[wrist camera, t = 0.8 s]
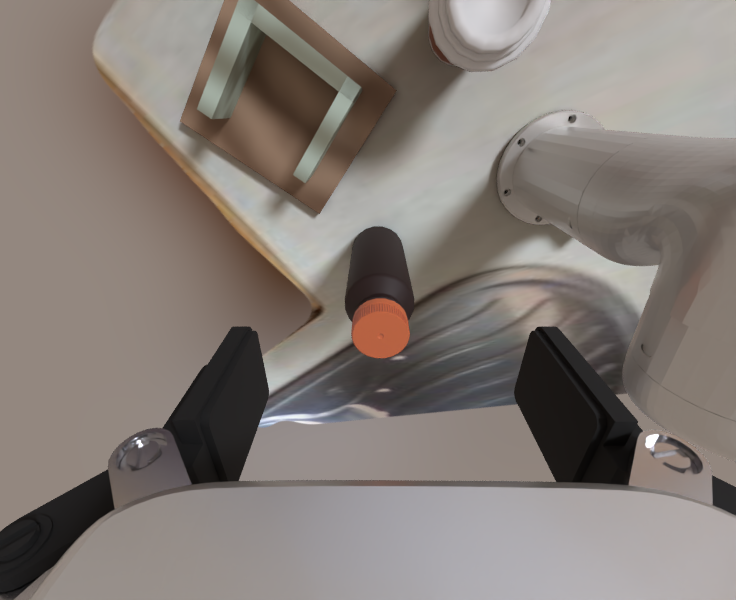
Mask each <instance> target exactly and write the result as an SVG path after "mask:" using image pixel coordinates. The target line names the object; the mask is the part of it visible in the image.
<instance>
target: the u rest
mask: <svg viewBox="0 0 736 600" xmlns="http://www.w3.org/2000/svg"><path fill="white" fill-rule="evenodd" d="M396 91H397V90H395V89H394V88H393V87H392V86H391V85H389V84H388V83H387V82H386V81H385V80H383V79H382V78H381V77H380V76H379V75H377V74H376V73H375V72H374V71H373V70H371V69H370V68H369V67H368V66H367V65H366V64H364V63H363V62H362V61H361V60H360V59H358V58H357V57H356V56H355V55H354V54H352V53H351V52H350V51H349V50H348V49H346V48H345V47H344V46H343V45H342V44H340V43H339V42H338V41H337V40H336V39H335V38H333V37H332V36H331V35H330V34H329V33H327V32H326V31H325V30H324V29H323V28H321V27H320V26H319V25H318V24H317V23H315V22H314V21H313V20H312V19H311V18H309V17H308V16H307V15H306V14H305V13H304V12H302V11H301V10H300V9H299V8H298V7H296V6H295V5H294V4H293V3H292V2H290V1H289V0H224V3H223V5H222V8H221V11H220V14H219V16H218V19H217V22H216V25H215V27H214V30H213V33H212V35H211V38H210V41H209V44H208V46H207V49H206V52H205V54H204V57H203V60H202V63H201V65H200V68H199V71H198V74H197V76H196V79H195V82H194V84H193V87H192V90H191V93H190V95H189V98H188V101H187V103H186V106H185V109H184V112H183V114H182V117H181V120H180V122H182V123H183V124H185V125H186V126H188V127H189V128H191V129H192V130H194V131H195V132H197V133H198V134H200V135H201V136H203V137H204V138H206V139H207V140H209V141H210V142H212V143H213V144H215V145H216V146H218V147H219V148H221V149H223V150H224V151H226V152H227V153H229V154H230V155H232V156H233V157H235V158H236V159H238V160H239V161H241V162H242V163H244V164H245V165H247V166H248V167H250V168H251V169H253V170H254V171H256V172H257V173H259V174H260V175H262V176H263V177H265V178H266V179H268V180H269V181H271V182H272V183H274V184H275V185H277V186H278V187H280V188H281V189H283V190H284V191H286V192H287V193H289V194H290V195H292V196H293V197H295V198H296V199H298V200H299V201H301V202H302V203H304V204H305V205H307V206H308V207H310V208H311V209H313V210H314V211H316V212H317V213H319V214H320V212H321V211H322V209H323V207H324V206H325V204H326V203H327V201H328V199H329V198H330V196H331V195H332V193H333V191H334V190H335V188H336V187H337V185H338V183H339V182H340V180H341V179H342V177H343V175H344V174H345V172H346V171H347V169H348V167H349V166H350V164H351V163H352V161H353V159H354V158H355V156H356V155H357V153H358V151H359V150H360V148H361V147H362V145H363V143H364V142H365V140H366V139H367V137H368V135H369V134H370V132H371V131H372V129H373V127H374V126H375V124H376V123H377V121H378V119H379V118H380V116H381V115H382V113H383V111H384V110H385V108H386V107H387V105H388V103H389V102H390V100H391V99H392V97H393V95H394V94H395V92H396Z"/></svg>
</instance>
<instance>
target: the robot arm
mask: <svg viewBox="0 0 736 600" xmlns="http://www.w3.org/2000/svg"><path fill="white" fill-rule="evenodd" d="M569 116H570V120H569V121H568V118H569ZM518 140H520V144H517V142H518ZM497 189H498V194H499V197H500V200H501V202H502V203H503V205H504V207H505V208H506V209H507V210H508V211H509V212H510V213H511V214H512V215H513V216H515V217H516V218H517V219H519V220H521V221H523V222H526V223H530V224H535V225H546V224H553V225H554V226H556V227H557V228H559V229H560V230H562V231H564V232H565V233H567V234H568V235H570V236H571V237H573V238H575V239H576V240H578V241H579V242H581V243H582V244H584V245H586V246H587V247H589V248H590V249H592V250H593V251H595V252H596V253H598V254H600V255H601V256H603V257H605V258H607V259H609V260H611V261H613V262H617V263H620V264H624V265H631V266H653V265H659V267H658V270H657V273H656V276H655V278H654V281H653V284H652V286H651V289H650V295H649V298H648V301H647V303H646V306H645V308H644V311H643V313H642V316H641V318H640V321H639V323H638V326H637V328H636V331H635V333H634V336H633V338H632V341H631V344H630V346H629V349H628V351H627V355H626V358H625V361H624V365H623V382H624V386H625V389H626V392H627V393H628V395H629V397H630V399H631V400H632V402H633V403H634V404H635V405H636V406H637V407H638V408H639V410H641V411H642V412H643V413H644V414H645V415H646V416H647V417H648V418H650V419H651V420H652V421H654V422H655V423H656V424H658V425H659V426H661V427H662V428H664V429H665V430H667V431H669V432H670V433H667V432H665V431H659V430H645V431H642V429H641V428H640V427H639V426H638V425H637V423H638V421H637V420H636V418H635V417H634V416H633V415H632V414H631V413H630V411H629V410H628V409H627V408H626V407H625V406H624V405H623V403H622V402H621V401H620V400H619V399H618V397H617V396H616V395H615V394H614V393H613V392H612V390H611V389H610V388H609V387H608V386H607V384H606V383H605V382H604V381H603V380H602V379H601V377H600V376H599V375H598V374H597V373H596V372H595V370H594V369H593V368H592V367H591V366H590V365H589V363H588V362H587V361H586V360H585V359H584V358H583V356H582V355H581V354H580V353H579V352H578V351H577V349H576V348H575V347H574V346H573V345H572V344H571V342H570V341H569V340H568V339H567V338H566V337H565V335H564V334H563V333H562V332H561V331H560V330H559V329H558V328H557V327H537V328H536V329H535V331H532V332H531V333H530V335H529V339H528V343H527V346H526V350H525V353H524V357H523V361H522V364H521V368H520V371H519V375H518V378H517V382H516V386H515V390H514V395H515V399H516V402H517V404H518V406H519V407H520V410H521V412H522V414H523V416H524V418H525V420H526V422H527V424H528V425H529V428H530V430H531V432H532V434H533V436H534V438H535V440H536V442H537V444H538V446H539V448H540V450H541V452H542V454H543V456H544V458H545V460H546V462H547V464H548V466H549V468H550V470H551V472H552V474H553V476H554V478H555V480H556V482H517V481H513V482H512V481H510V482H509V481H389V480H388V481H386V480H379V481H378V480H372V481H371V480H364V481H363V480H359V481H358V480H330V481H329V480H296V481H295V480H292V481H291V480H279V481H239V478H240V475H241V472H242V470H243V467H244V464H245V461H246V458H247V456H248V453H249V450H250V448H251V445H252V442H253V439H254V436H255V434H256V431H257V428H258V425H259V422H260V420H261V417H262V414H263V411H264V409H265V406H266V403H267V400H268V396H269V388H268V383H267V378H266V373H265V368H264V363H263V358H262V353H261V349H260V344H259V339H258V334H257V332H256V331H252V329H251V327H232V328H231V329H230V331H229V332H228V334H227V335H226V337H225V339H224V340H223V342H222V343H221V345H220V346H219V348H218V349H217V351H216V353H215V354H214V356H213V357H212V359H211V360H210V362H209V363H208V365H205V366H204V367H203V368H202V369H201V371H200V372H199V373H198V375H197V376H196V378H195V380H194V381H193V383H192V384H191V386H190V388H189V389H188V390H187V392H186V393H185V395H184V396H183V398H182V399H181V401H180V402H179V404H178V405H177V407H176V408H175V410H174V411H173V413H172V414H171V416H170V418H169V419H168V421H167V422H166V424H165V425H164V427H163V428H152V429H146V430H143V431H141V432H138V433H136V434H134V435H132V436H130V437H129V438H127V439H126V440H125V441H124V442H122V443H121V444H120V445H119V446H118V447H117V448H116V449H115V450H114V451H113V453H112V455H111V457H110V459H109V461H108V470H106V471H104V472H102V473H101V474H99V475H97V476H95V477H93V478H91V479H90V480H88V481H86V482H84V483H82V484H81V485H79V486H77V487H75V488H73V489H72V490H70V491H68V492H66V493H64V494H63V495H61V496H59V497H57V498H55V499H53V500H52V501H50V502H48V503H46V504H45V505H43V506H41V507H39V508H37V509H35V510H33V511H32V512H30V513H28V514H26V515H24V516H23V517H21V518H19V519H17V520H16V521H14V522H13V523H11V524H10V525H8V526H7V527H5V528H4V529H3V530H2V531H1V532H0V600H736V487H734V486H732V485H730V484H728V483H726V482H724V481H722V480H720V479H718V478H716V477H714V476H712V470H711V466H710V463H709V462H708V460H707V459H706V457H705V456H704V455H703V454H702V453H701V452H700V451H699V450H698V449H697V448H696V447H694V446H693V445H696V446H698V447H700V448H702V449H704V450H707V451H709V452H711V453H714V454H716V455H719V456H721V457H724V458H726V459H729V460H731V461H734V462H736V138H703V137H688V136H675V135H662V134H651V133H639V132H627V131H615V130H606V129H605V128H604V127H603V125H602V124H601V123H600V122H599V121H598V120H597V119H595V118H594V117H593V116H591V115H589V114H586V113H584V112H580V111H573V110H562V111H556V112H551V113H548V114H545V115H543V116H540V117H538V118H537V119H535V120H533V121H531V122H530V123H528V124H527V125H526V126H525V127H524V128H522V129H521V130H520V131H519V132H518V133H517V134H516V136H515V137H514V138H513V139H512V140H511V142H510V143H509V145H508V146H507V148H506V149H505V151H504V154H503V156H502V158H501V160H500V164H499V168H498V172H497ZM506 189H507V192H506V193H504V191H505V190H506ZM536 216H538V217H537V218H536ZM671 433H672V434H671ZM673 434H674V435H673ZM688 442H689V443H688ZM690 443H691V444H693V445H691V444H690Z"/></svg>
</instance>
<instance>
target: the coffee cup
mask: <svg viewBox="0 0 736 600" xmlns="http://www.w3.org/2000/svg"><path fill="white" fill-rule="evenodd" d="M550 2H551V0H429V15H428V19H429V26H428V38H429V42H430V45H431V48H432V51H433V52H434V54H435V55H436V56H437V57H438V59H439V60H440V61H442V62H444V63H446V64H448V65H450V66H458V67H460V68H462V69H464V70H467V71H469V72H482V71H493V70H496V69H497V68H499V67H501V66H503V65H505V64H507V63H509V62H511V61H513V60H515V59H517V58H518V56H519V55H520V54H521V53H522V52H523V51H524V50H525V49H526V48H527V47H528V46H529V45H530V44H531V43H532V41H533V40H534V39H535V38H536V36H537V34H538V32H539V30H540V28H541V26H542V24H543V22H544V20H545V18H546V16H547V14H548V12H549V8H550Z"/></svg>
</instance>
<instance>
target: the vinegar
mask: <svg viewBox="0 0 736 600" xmlns="http://www.w3.org/2000/svg"><path fill="white" fill-rule="evenodd" d="M345 310H346V312H347V315H348V317H349V319H350V320H351V321H352V333H351V334H352V335H351V336H352V340H353V342H354V344H355V346H356V348H357V349H359V351H361V352H362V354H363V353H364V355H367V356H370V357H373V358H387V357H391V356H394V355H395V354H397V353H399V352H401V350H402V349H404V347H405V346H406V345H407V343H408V340H409V335H410V332H409V325H408V320H409V319H410V317H411V315H412V312H413V310H414V296H413V291H412V287H411V282H410V277H409V273H408V268H407V264H406V259H405V254H404V250H403V246H402V242H401V240H400V238H399V237H398V235H397V234H396V233H395V232H393V231H392V230H390V229H388V228H385V227H371V228H368V229H366V230H364V231H363V232H361V233H360V234H359V235H358V237H357V238H356V239H355V242H354V245H353V249H352V255H351V262H350V269H349V275H348V282H347V289H346V295H345Z"/></svg>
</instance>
